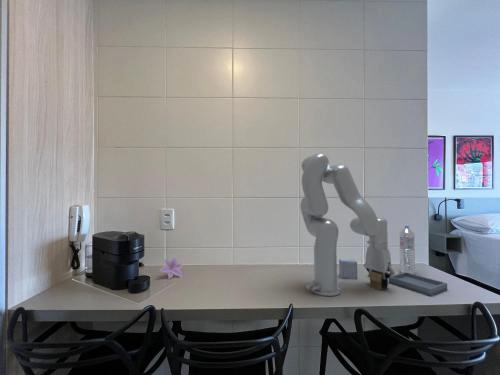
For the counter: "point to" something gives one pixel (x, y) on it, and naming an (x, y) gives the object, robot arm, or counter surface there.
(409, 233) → the water bottle
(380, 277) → the walnut block
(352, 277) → the medicine box
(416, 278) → the tray
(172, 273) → the lily
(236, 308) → the counter surface
